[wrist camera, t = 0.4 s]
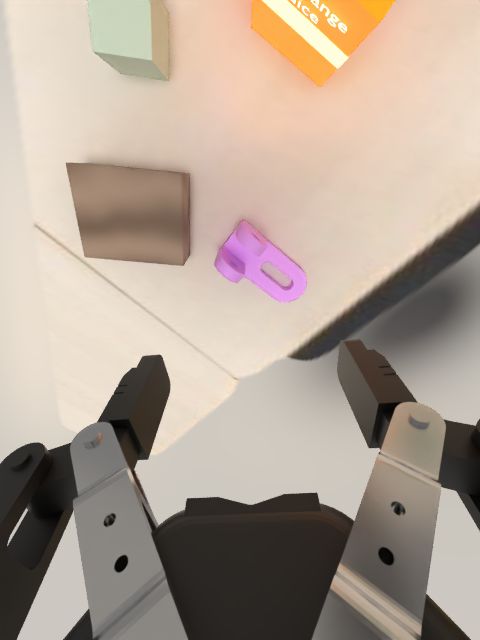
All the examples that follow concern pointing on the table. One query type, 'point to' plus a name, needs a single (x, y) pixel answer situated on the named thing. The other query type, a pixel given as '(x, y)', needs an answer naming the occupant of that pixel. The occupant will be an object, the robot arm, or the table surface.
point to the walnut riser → (132, 213)
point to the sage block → (131, 36)
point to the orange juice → (317, 30)
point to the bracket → (258, 263)
